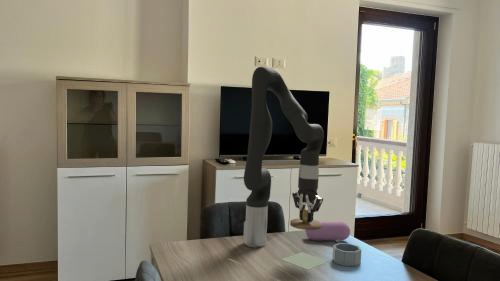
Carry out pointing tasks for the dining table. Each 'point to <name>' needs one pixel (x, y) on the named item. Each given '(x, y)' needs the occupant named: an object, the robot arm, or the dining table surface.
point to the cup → (346, 254)
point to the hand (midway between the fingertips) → (306, 220)
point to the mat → (304, 260)
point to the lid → (305, 222)
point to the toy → (330, 232)
